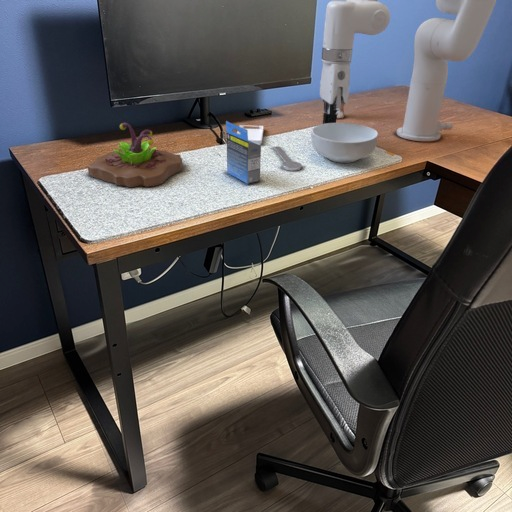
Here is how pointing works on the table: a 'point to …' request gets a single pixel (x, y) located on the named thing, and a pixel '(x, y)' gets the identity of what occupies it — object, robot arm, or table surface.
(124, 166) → the plant
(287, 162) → the spoon
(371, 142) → the cereal bowl
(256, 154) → the blue cardboard box
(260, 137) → the phone case
